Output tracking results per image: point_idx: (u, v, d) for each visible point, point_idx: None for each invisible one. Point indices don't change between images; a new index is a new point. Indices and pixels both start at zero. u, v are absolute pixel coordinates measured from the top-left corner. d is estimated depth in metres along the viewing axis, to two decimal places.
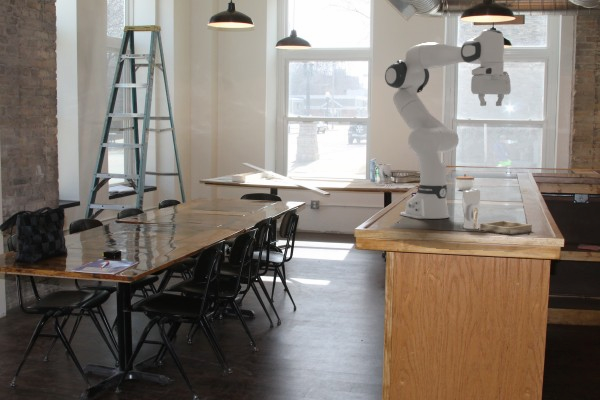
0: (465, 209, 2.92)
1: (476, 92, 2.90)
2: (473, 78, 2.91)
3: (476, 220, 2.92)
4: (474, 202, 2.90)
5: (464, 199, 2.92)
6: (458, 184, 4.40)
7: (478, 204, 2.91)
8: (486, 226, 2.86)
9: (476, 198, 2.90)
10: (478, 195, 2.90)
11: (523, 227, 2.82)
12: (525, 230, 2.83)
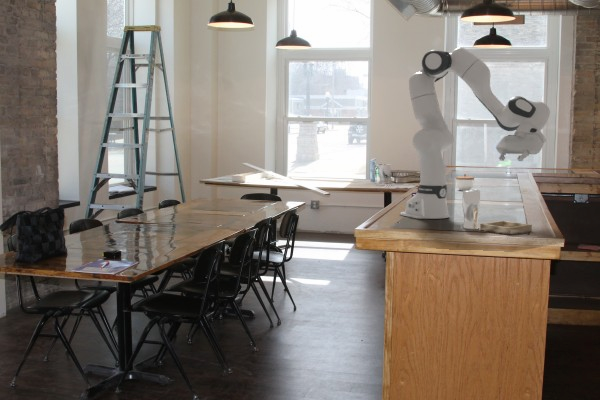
0: (465, 209, 2.92)
1: (536, 152, 2.99)
2: (539, 138, 3.00)
3: (476, 220, 2.92)
4: (474, 202, 2.90)
5: (464, 199, 2.92)
6: (458, 184, 4.40)
7: (478, 204, 2.91)
8: (486, 226, 2.86)
9: (476, 198, 2.90)
10: (478, 195, 2.90)
11: (523, 227, 2.82)
12: (525, 230, 2.83)
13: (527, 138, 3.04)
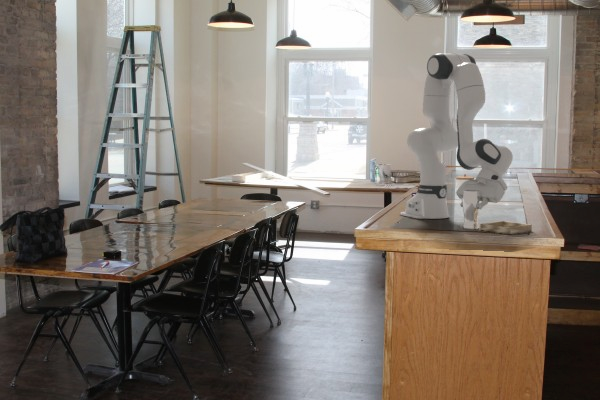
0: (465, 209, 2.92)
1: (497, 200, 2.87)
2: (500, 186, 2.89)
3: (476, 220, 2.92)
4: (474, 202, 2.90)
5: (464, 199, 2.92)
6: (458, 184, 4.40)
7: None
8: (486, 226, 2.86)
9: (476, 198, 2.90)
10: (478, 195, 2.90)
11: (523, 227, 2.82)
12: (525, 230, 2.83)
13: (488, 185, 2.93)
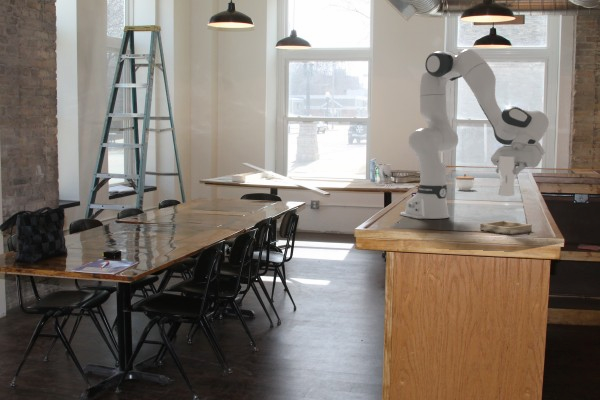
0: (501, 175, 2.83)
1: (534, 165, 2.78)
2: (538, 150, 2.80)
3: (512, 186, 2.83)
4: (511, 168, 2.81)
5: (500, 164, 2.83)
6: (458, 184, 4.40)
7: None
8: (486, 226, 2.86)
9: (513, 163, 2.81)
10: (515, 160, 2.81)
11: (523, 227, 2.82)
12: (525, 230, 2.83)
13: (525, 150, 2.84)
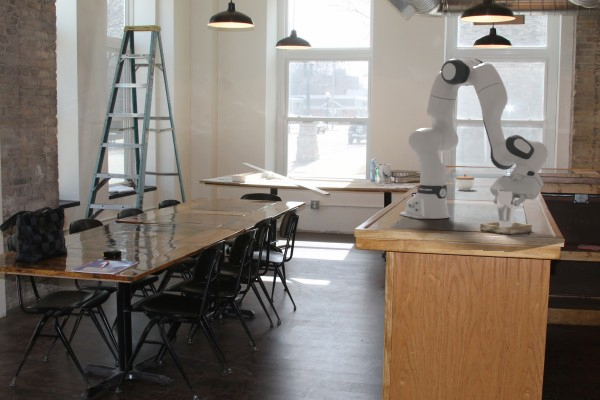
0: (500, 210, 2.85)
1: (533, 197, 2.80)
2: (537, 183, 2.81)
3: (511, 221, 2.85)
4: (510, 202, 2.83)
5: (499, 199, 2.84)
6: (458, 184, 4.40)
7: (513, 204, 2.84)
8: (486, 226, 2.86)
9: (512, 198, 2.83)
10: (513, 195, 2.83)
11: (523, 227, 2.82)
12: (525, 230, 2.83)
13: (524, 181, 2.85)
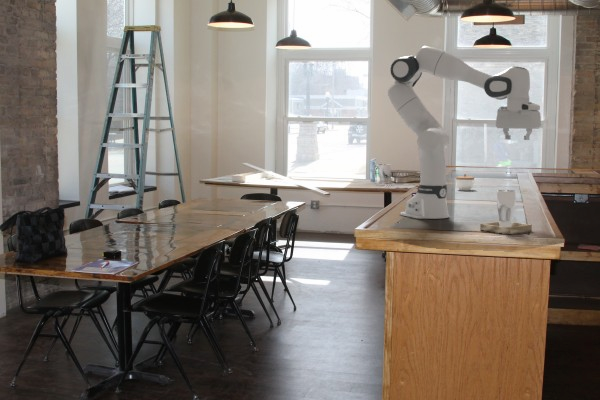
0: (500, 210, 2.85)
1: (538, 127, 3.02)
2: (535, 113, 3.00)
3: (511, 221, 2.85)
4: (509, 202, 2.83)
5: (499, 199, 2.84)
6: (458, 184, 4.40)
7: (513, 204, 2.84)
8: (486, 226, 2.86)
9: (511, 198, 2.83)
10: (513, 195, 2.83)
11: (523, 227, 2.82)
12: (525, 230, 2.83)
13: (522, 114, 3.05)
